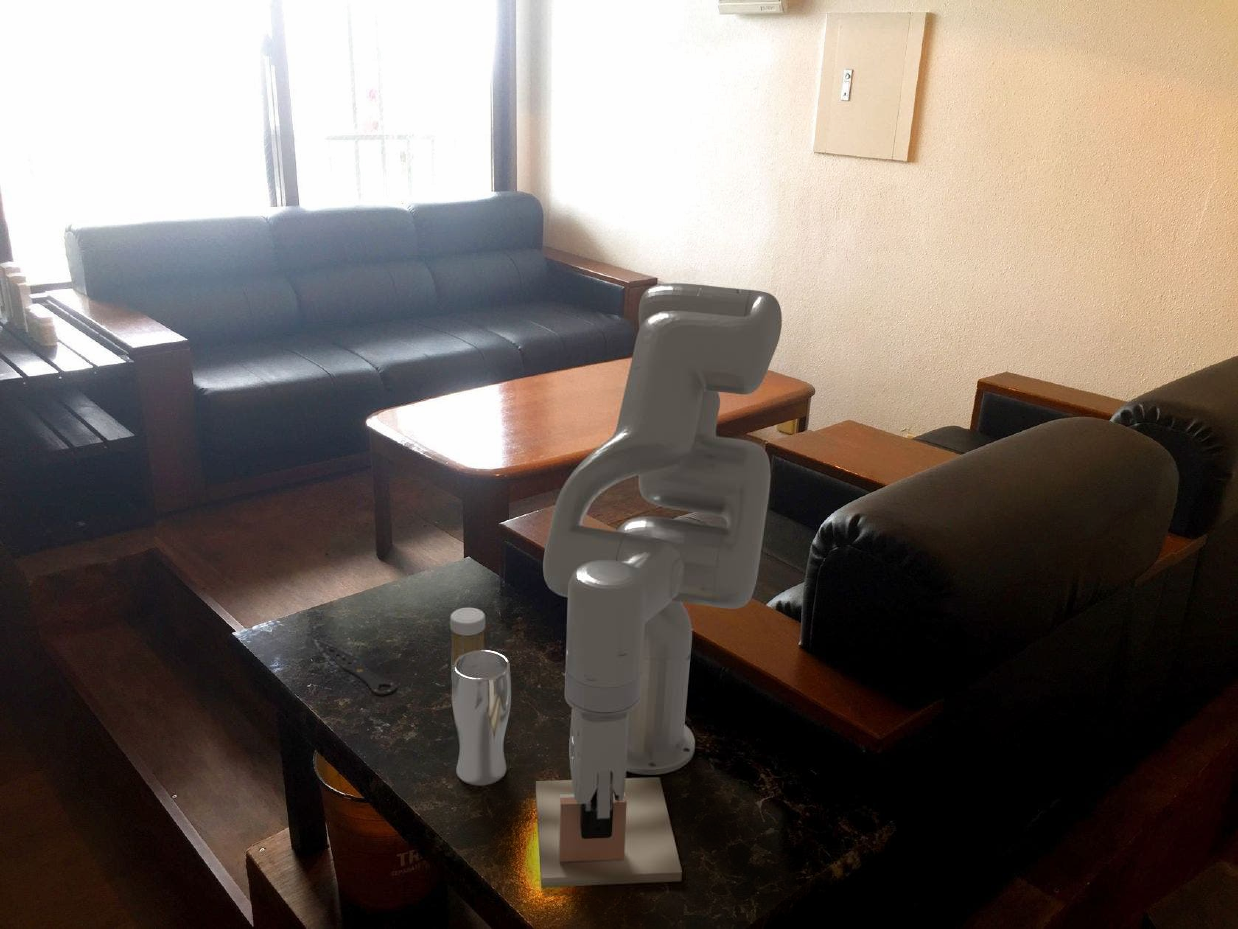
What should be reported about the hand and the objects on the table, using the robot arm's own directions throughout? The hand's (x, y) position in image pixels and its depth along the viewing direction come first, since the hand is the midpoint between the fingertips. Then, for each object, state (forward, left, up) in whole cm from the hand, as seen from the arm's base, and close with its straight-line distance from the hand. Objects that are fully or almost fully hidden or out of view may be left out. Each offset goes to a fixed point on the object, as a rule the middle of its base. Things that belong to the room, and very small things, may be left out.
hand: (595, 833), depth 107 cm
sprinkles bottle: (-34, -14, -6) cm, 38 cm away
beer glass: (-19, -12, -6) cm, 24 cm away
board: (-7, +2, -6) cm, 10 cm away
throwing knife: (-44, -31, -7) cm, 54 cm away
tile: (-2, 0, -5) cm, 5 cm away
